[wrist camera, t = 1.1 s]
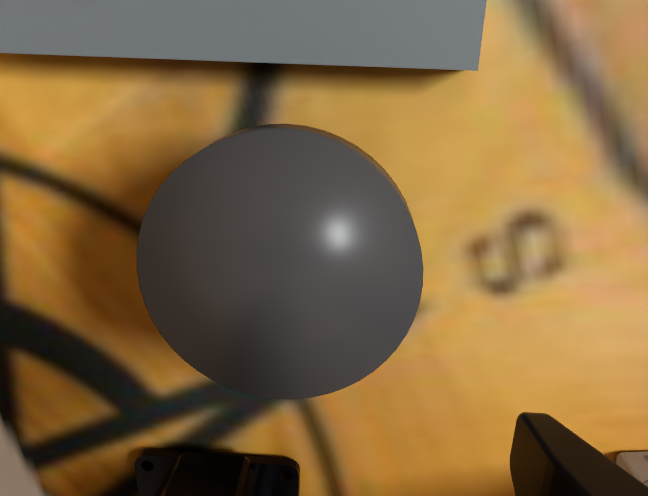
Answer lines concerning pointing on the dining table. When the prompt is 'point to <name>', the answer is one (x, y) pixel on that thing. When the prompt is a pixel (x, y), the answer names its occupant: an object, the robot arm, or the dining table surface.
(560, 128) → the dining table surface
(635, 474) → the coffee box
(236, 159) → the knob
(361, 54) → the mount plate
